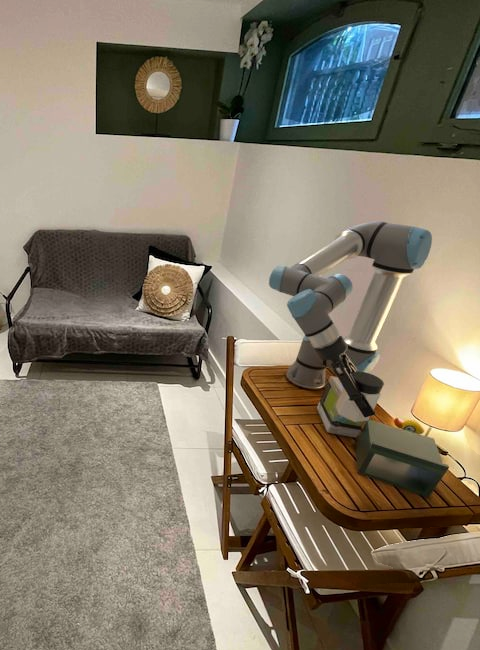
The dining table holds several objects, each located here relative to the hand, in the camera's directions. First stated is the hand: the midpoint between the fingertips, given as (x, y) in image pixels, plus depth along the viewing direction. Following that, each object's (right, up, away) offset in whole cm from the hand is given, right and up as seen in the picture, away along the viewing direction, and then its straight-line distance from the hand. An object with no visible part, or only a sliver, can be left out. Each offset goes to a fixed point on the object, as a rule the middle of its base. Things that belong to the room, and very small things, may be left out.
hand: (368, 406), depth 107 cm
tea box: (+7, -9, +28) cm, 30 cm away
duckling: (+24, -16, +19) cm, 35 cm away
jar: (-3, -3, +3) cm, 5 cm away
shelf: (+12, -20, +9) cm, 25 cm away
